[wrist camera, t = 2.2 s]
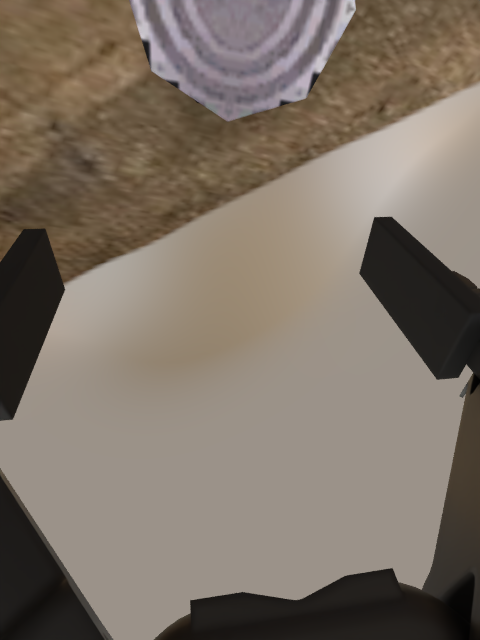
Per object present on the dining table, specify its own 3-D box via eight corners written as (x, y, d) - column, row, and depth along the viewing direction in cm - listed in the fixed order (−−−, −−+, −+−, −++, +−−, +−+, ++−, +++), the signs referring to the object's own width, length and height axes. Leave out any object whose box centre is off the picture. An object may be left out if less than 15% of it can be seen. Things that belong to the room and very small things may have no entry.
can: (126, 61, 29) (90, 45, 18) (181, -133, 24) (174, -299, 14) (256, 133, 32) (286, 153, 22) (327, -22, 27) (407, -87, 17)
